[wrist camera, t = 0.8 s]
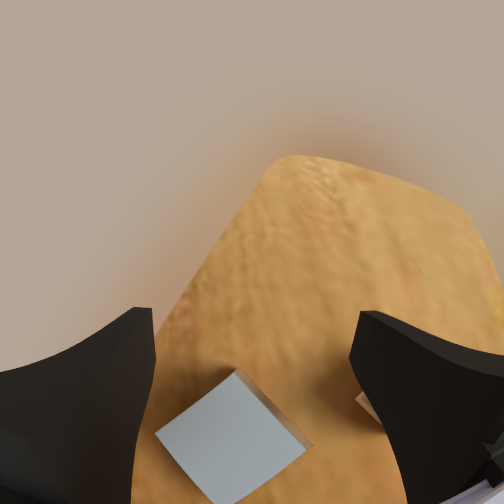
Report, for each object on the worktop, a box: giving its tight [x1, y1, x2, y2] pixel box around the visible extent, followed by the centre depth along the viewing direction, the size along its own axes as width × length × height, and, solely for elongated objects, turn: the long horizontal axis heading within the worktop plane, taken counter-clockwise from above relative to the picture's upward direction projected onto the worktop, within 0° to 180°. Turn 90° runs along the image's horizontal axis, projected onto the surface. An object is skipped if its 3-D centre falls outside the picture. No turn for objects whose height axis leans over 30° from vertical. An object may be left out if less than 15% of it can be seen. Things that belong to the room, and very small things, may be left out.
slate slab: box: [155, 373, 306, 504], centre depth 18 cm, size 7×7×2 cm
